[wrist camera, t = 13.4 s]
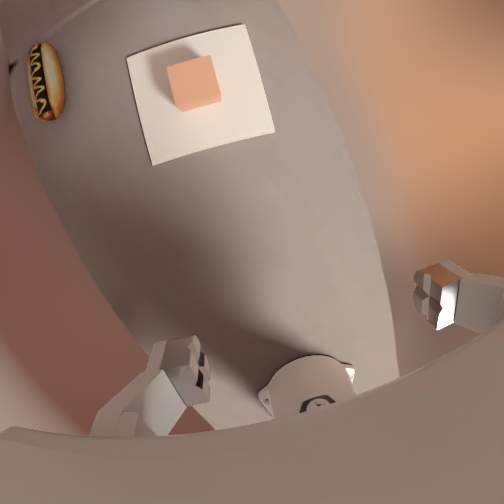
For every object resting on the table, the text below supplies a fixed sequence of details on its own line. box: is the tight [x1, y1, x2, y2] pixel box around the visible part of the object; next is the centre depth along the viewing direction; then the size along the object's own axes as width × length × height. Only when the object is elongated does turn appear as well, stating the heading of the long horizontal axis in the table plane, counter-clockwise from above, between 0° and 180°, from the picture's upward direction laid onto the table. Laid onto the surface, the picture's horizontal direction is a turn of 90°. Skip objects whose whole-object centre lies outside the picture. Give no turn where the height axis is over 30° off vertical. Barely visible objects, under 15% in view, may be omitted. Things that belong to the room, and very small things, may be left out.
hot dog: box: [26, 42, 66, 122], centre depth 26 cm, size 5×13×5 cm, turn 17°
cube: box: [166, 55, 222, 112], centre depth 29 cm, size 5×5×5 cm
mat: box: [127, 24, 275, 166], centre depth 31 cm, size 16×16×1 cm
